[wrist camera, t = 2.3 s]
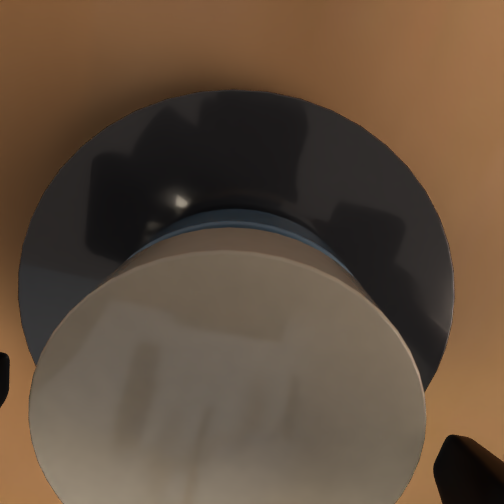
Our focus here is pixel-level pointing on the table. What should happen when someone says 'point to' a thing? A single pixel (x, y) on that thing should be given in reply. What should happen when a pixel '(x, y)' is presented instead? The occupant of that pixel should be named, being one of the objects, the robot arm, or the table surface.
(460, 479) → the robot arm
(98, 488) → the cream saucer
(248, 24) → the table surface
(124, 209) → the charcoal plate
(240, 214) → the blue saucer
